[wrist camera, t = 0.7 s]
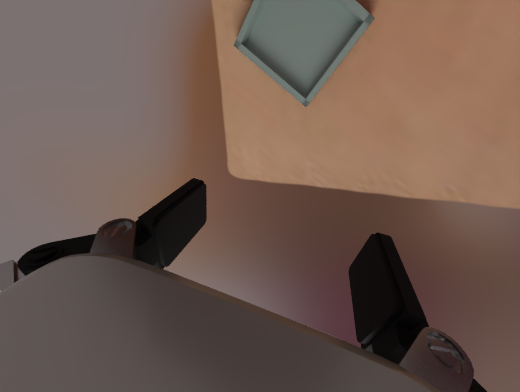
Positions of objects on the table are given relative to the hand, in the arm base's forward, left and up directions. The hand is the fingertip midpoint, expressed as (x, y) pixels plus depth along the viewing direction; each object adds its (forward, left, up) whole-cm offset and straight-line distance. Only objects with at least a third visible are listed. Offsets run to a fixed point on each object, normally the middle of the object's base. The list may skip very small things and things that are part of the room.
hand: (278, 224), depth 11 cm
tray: (-9, -10, -27) cm, 30 cm away
